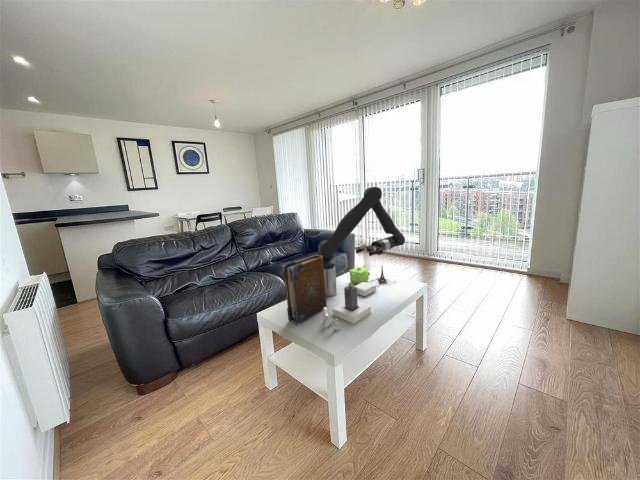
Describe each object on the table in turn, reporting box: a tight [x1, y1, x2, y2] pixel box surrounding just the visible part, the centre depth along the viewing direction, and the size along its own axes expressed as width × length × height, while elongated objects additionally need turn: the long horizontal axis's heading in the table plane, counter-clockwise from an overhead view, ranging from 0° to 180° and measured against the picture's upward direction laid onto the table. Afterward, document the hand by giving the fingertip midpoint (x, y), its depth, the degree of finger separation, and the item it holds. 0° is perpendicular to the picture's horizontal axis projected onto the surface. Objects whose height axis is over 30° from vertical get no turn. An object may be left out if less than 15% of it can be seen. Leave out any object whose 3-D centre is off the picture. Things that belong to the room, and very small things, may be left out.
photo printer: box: [353, 281, 377, 297], centre depth 158 cm, size 10×4×12 cm
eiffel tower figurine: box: [369, 264, 397, 285], centre depth 170 cm, size 15×10×13 cm
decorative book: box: [281, 254, 328, 326], centre depth 133 cm, size 23×7×30 cm, turn 137°
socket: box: [332, 301, 372, 324], centre depth 133 cm, size 14×14×4 cm
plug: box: [343, 282, 358, 312], centre depth 131 cm, size 4×4×16 cm
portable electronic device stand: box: [321, 307, 340, 332], centre depth 121 cm, size 9×8×8 cm
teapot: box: [348, 264, 371, 285], centre depth 173 cm, size 15×13×11 cm
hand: (362, 252), depth 134 cm, fingers open, 8 cm apart
